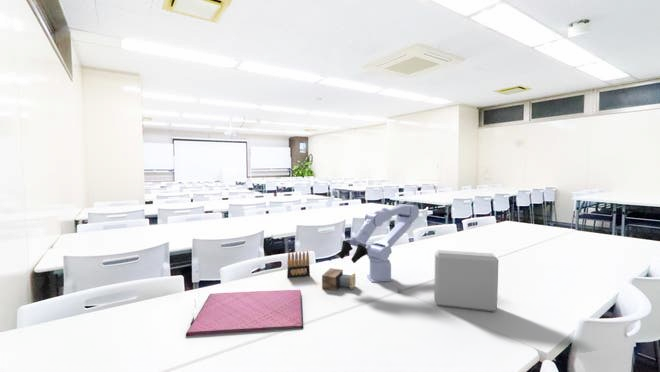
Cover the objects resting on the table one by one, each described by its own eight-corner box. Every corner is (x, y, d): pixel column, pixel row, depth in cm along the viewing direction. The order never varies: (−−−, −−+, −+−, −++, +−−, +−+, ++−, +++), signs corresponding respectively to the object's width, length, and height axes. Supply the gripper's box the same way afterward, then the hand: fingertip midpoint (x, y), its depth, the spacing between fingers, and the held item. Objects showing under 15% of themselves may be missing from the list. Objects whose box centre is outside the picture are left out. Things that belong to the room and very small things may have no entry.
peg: (355, 285, 132) (355, 273, 132) (352, 289, 128) (352, 277, 127) (338, 282, 135) (338, 271, 135) (335, 286, 130) (335, 275, 130)
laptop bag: (301, 285, 124) (303, 320, 97) (301, 295, 125) (303, 332, 98) (199, 290, 119) (172, 327, 93) (199, 299, 120) (172, 339, 93)
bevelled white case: (492, 304, 114) (493, 251, 113) (498, 313, 107) (499, 258, 106) (433, 297, 120) (434, 248, 119) (435, 306, 112) (435, 253, 111)
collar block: (343, 282, 137) (343, 269, 136) (336, 290, 127) (336, 277, 127) (330, 280, 139) (330, 268, 139) (322, 288, 130) (322, 275, 129)
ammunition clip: (287, 278, 143) (287, 253, 142) (287, 276, 144) (286, 251, 144) (309, 276, 145) (309, 251, 144) (309, 274, 147) (309, 250, 146)
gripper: (347, 226, 138) (330, 250, 132) (371, 231, 126) (353, 257, 121) (355, 236, 141) (339, 259, 135) (378, 242, 130) (362, 268, 124)
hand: (346, 259), depth 128 cm, fingers open, 7 cm apart
